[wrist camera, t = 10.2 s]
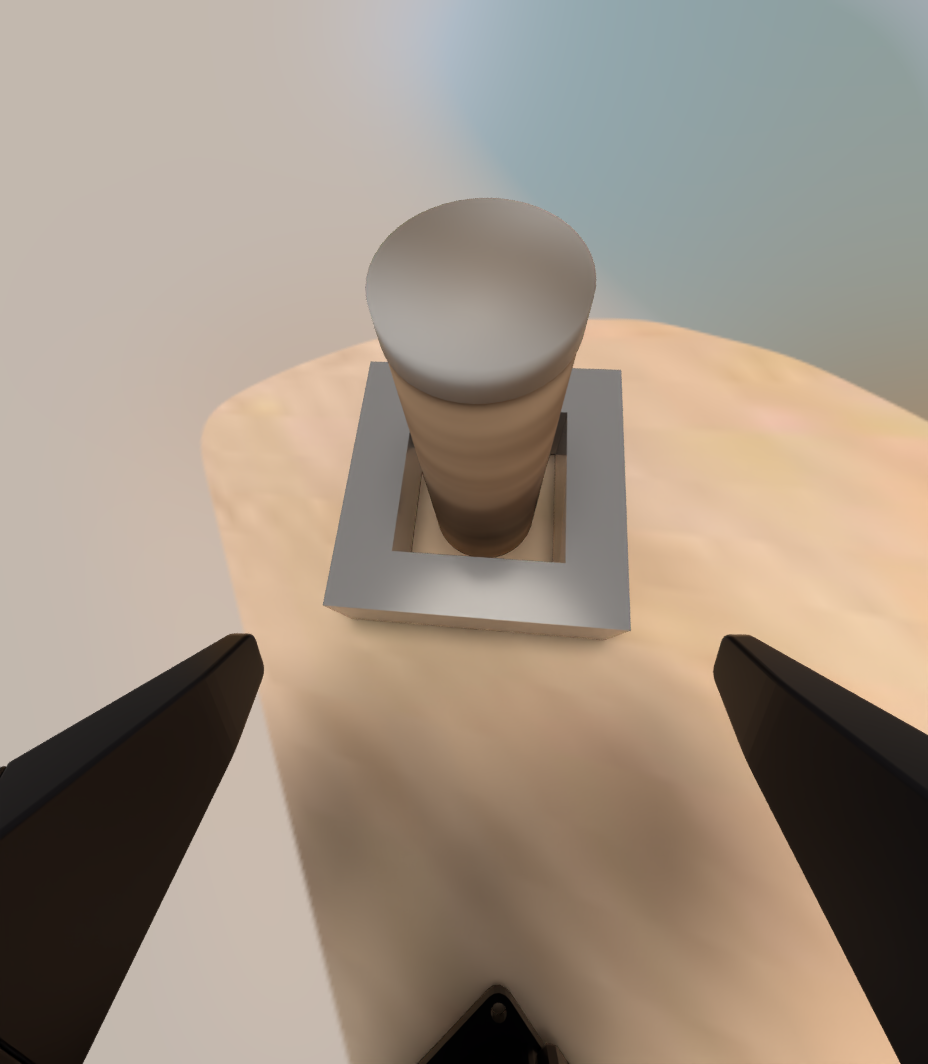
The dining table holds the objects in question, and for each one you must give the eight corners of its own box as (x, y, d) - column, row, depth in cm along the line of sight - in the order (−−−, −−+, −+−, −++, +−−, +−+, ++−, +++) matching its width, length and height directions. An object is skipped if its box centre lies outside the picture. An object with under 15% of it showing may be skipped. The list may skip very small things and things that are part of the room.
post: (517, 571, 19) (562, 395, 8) (422, 542, 20) (328, 339, 8) (545, 483, 21) (618, 218, 9) (455, 458, 21) (413, 183, 10)
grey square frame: (605, 640, 18) (630, 630, 15) (351, 618, 19) (322, 605, 16) (601, 417, 22) (621, 369, 18) (388, 408, 23) (370, 361, 19)
